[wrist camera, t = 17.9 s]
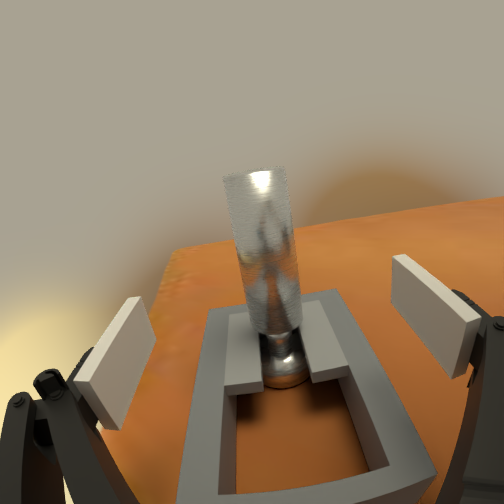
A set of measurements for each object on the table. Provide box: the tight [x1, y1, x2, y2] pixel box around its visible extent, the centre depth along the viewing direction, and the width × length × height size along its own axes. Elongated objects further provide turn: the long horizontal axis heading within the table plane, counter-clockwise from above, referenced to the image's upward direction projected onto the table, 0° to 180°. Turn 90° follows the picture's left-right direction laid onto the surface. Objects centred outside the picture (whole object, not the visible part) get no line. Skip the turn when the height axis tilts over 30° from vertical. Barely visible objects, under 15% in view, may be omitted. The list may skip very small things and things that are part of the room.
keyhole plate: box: [176, 289, 438, 504], centre depth 19 cm, size 20×12×4 cm, turn 1°
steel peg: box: [223, 167, 310, 388], centre depth 22 cm, size 5×5×16 cm
